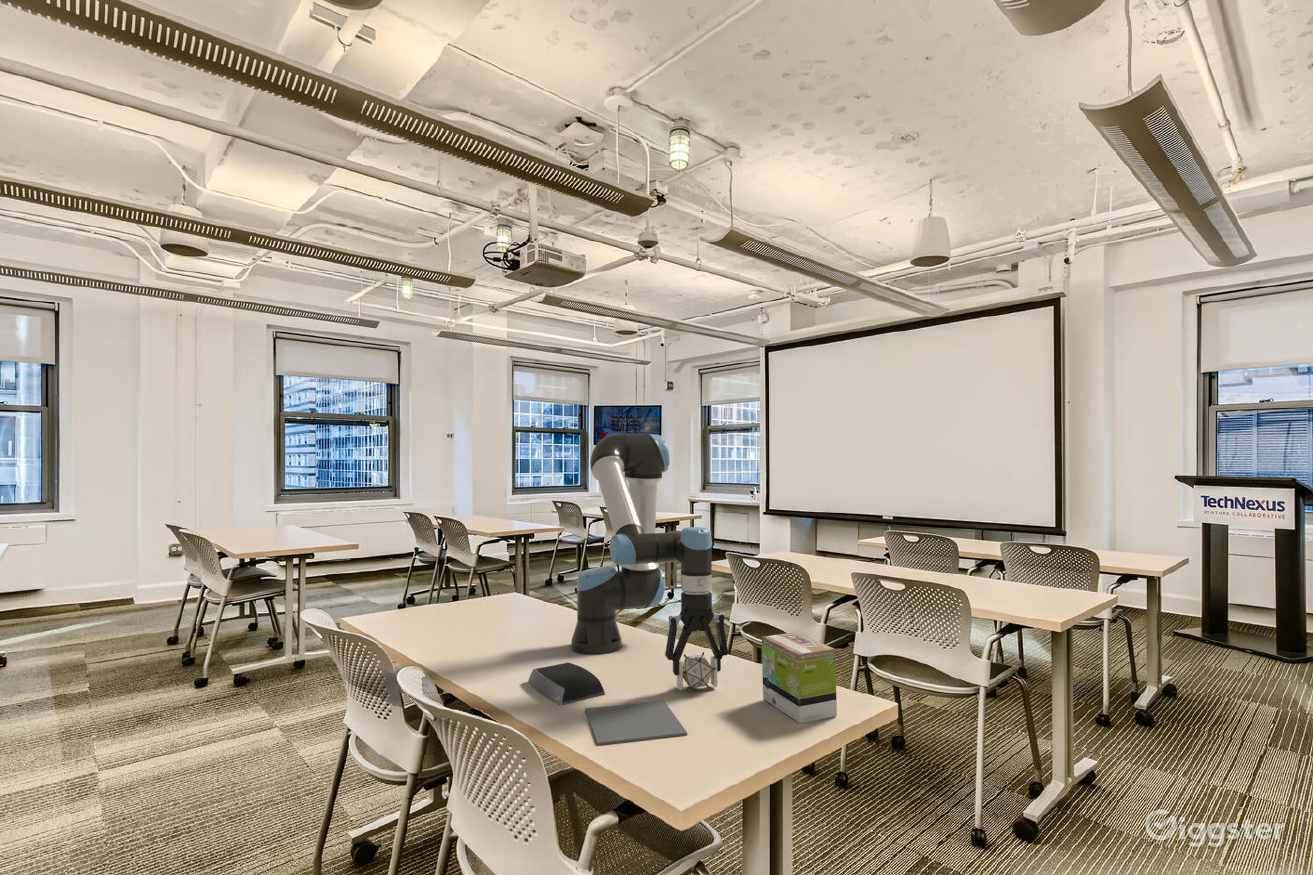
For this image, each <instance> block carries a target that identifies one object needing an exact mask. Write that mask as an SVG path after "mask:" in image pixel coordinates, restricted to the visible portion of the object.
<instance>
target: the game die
mask: <svg viewBox="0 0 1313 875" xmlns="http://www.w3.org/2000/svg"><path fill="white" fill-rule="evenodd" d="M704 655H705V651H702V653H701V654H698V655H691V656H687V654H685V653H683V657H684V661H683V681H685V683H686V684H687V686H688V689H687V690H688V692H690V691H691V689H692V688H700V687H706V688H707V689H710V685H708V684H709V681H710V680H711V673H712V671H713V670H715V669H716V668H715V667H714V668H712V667H711V663H709V660H707V659H706V657H705V656H704Z"/></svg>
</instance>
